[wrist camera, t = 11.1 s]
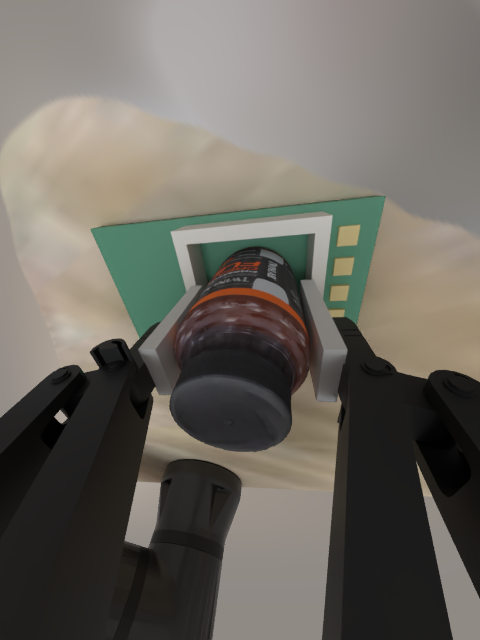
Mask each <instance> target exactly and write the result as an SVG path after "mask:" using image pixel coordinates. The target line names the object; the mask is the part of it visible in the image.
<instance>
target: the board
mask: <svg viewBox="0 0 480 640" xmlns="http://www.w3.org/2000/svg"><path fill="white" fill-rule="evenodd" d="M385 197H386V196H369V197H360V198H351V199H342V200H334V201H325V202H316V203H307V204H298V205H289V206H280V207H271V208H263V209H254V210H245V211H236V212H227V213H218V214H209V215H200V216H191V217H183V218H174V219H165V220H156V221H147V222H138V223H129V224H120V225H112V226H103V227H97V228H93V229H91V232H92V234H93V236H94V238H95V240H96V243H97V245H98V247H99V249H100V251H101V254H102V256H103V258H104V260H105V262H106V265H107V267H108V269H109V271H110V274H111V276H112V278H113V280H114V282H115V285H116V287H117V289H118V291H119V293H120V296H121V298H122V300H123V302H124V304H125V307H126V309H127V311H128V313H129V315H130V318H131V320H132V322H133V324H134V326H135V329H136V331H137V333H138V335H139V338H140V339H141V337H142V335H143V334H145V332H146V331H147V330H148V329H149V328H150V327H151V326H152V325H154V324H155V323H157V322H162V320H163V319H164V318H165V317H166V316H167V315H168V313H169V312H170V311H171V310H172V309H173V307H174V306H175V305H176V304H177V303H178V302H179V300H180V299H181V298H182V297H183V296H184V294H185V293H186V292H187V291H188V290H189V289H190V287H191V286H198V285H203V289H205V288H206V286H207V285H208V283H209V282H210V281H211V279H212V278H213V276H214V275H215V273H216V272H217V270H218V269H219V267H220V266H221V264H222V263H223V262H224V261H225V260H226V259H227V258H228V257H229V256H230V255H232V254H233V253H235V252H237V251H239V250H241V249H244V248H248V247H262V248H267V249H270V250H272V251H274V252H276V253H278V254H279V255H280V256H282V257H283V258H284V259H285V260H286V261H287V262H288V264H289V265H290V267H291V269H292V271H293V274H294V276H295V280H296V284H297V289H298V293H299V297H300V280H311V279H314V282H315V284H316V286H317V288H318V290H319V292H320V294H321V296H322V298H323V300H324V302H325V304H326V306H327V308H328V310H329V312H330V315H331V317H347V318H349V319H350V320H352V321H353V322H354V323H355V324H356V325H357V320H358V316H359V312H360V307H361V303H362V298H363V294H364V290H365V285H366V281H367V276H368V272H369V268H370V263H371V259H372V254H373V250H374V246H375V241H376V237H377V232H378V228H379V224H380V219H381V215H382V211H383V206H384V202H385Z"/></svg>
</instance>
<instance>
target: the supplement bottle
mask: <svg viewBox="0 0 480 640" xmlns="http://www.w3.org/2000/svg"><path fill="white" fill-rule="evenodd" d="M175 355H176V360H177V363H178V366H179V368H180V370H181V372H180V375H179V379H178V380H177V382H176V385H175V387H174V389H173V392H172V394H171V397H170V406H169V407H170V411H171V415H172V417H173V418H174V420H175V422H176V423H177V424H178V425H179V426H180V427H181V428H182V429H183V430H184V431H185V432H186V433H188V434H189V435H190V436H192V437H194V438H195V439H197V440H199V441H201V442H204V443H205V444H208V445H211V446H213V447H217V448H221V449H224V450H229V451H239V452H250V451H252V452H256V451H261V450H266V449H268V448H270V447H272V446H275V445H277V444H278V443H280V442H281V441H283V440H284V438H285V437H286V436H287V435H288V433H289V432H290V429H291V425H292V414H291V395H292V394H293V393H295V392H296V391H297V390H298V389H299V388H300V386H301V385H302V384H303V382H304V381H305V379H306V377H307V374H308V371H309V367H310V362H311V350H310V342H309V338H308V333H307V328H306V323H305V319H304V315H303V310H302V306H301V302H300V297H299V293H298V289H297V284H296V280H295V276H294V274H293V271H292V269H291V267H290V265H289V264H288V262H287V261H286V260H285V259H284V258H283V257H282V256H280V255H279V254H278V253H276V252H274V251H272V250H270V249H267V248H262V247H248V248H244V249H241V250H239V251H237V252H235V253H233V254H232V255H230V256H229V257H228V258H227V259H226V260H225V261H224V262H223V263H222V264H221V266H220V267H219V269H218V270H217V272H216V273H215V275H214V276H213V278H212V279H211V281H210V282H209V283H208V285H207V286H206V288H205V289H204V290H203V292H202V293H201V295H200V296H199V297H198V299H197V300H196V302H195V303H194V305H193V306H192V308H191V309H190V311H189V312H188V314H187V315H186V317H185V318H184V319H183V321H182V323H181V324H180V326H179V329H178V331H177V334H176V338H175Z"/></svg>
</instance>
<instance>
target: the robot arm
mask: <svg viewBox="0 0 480 640" xmlns="http://www.w3.org/2000/svg"><path fill="white" fill-rule="evenodd" d="M203 290H204V289H203V285H198V286H191V287H190V289H189V290H188V291H187V292H186V293H185V294H184V296H183V297H182V298H181V299H180V300H179V302H178V303H177V304H176V305H175V306H174V307H173V309H172V310H171V311H170V312H169V313H168V315H167V316H166V317H165V318H164V319H163V320H162V322H157V323H155V324H154V325H152V326H151V327H150V328H149V329H148V330H147V331H146V332H145V334H143V335H142V337H141V339H139V340H138V341H137V342H136V343H135V344H134V345H133V347H132V348H131V349H130V350H129V348H128V346H127V344H126V342H125V341H124V340H123V339H111V340H108V341H105V342H103V343H101V344H99V345H97V346H96V347H94V348H93V349H92V350H91V351H90V354H91V355H92V357H93V358H94V360H95V362H96V363H97V365H98V366H99V369H98V370H95V371H90V372H86V373H84V372H83V371H82V370H81V368H80V367H79V366H78V365H70V366H65V367H63V368H60V369H58V370H56V371H54V372H53V373H52V374H50V375H49V376H47V377H46V378H45V379H44V380H43V381H41V382H40V383H39V384H38V385H37V386H36V387H35V388H34V389H32V390H31V391H30V392H29V393H28V394H27V395H26V396H25V397H23V398H22V399H21V400H20V401H19V402H18V403H17V404H16V405H14V406H13V407H12V408H11V409H10V410H9V411H8V412H7V413H5V414H4V415H3V416H2V417H1V418H0V640H212V637H213V629H214V621H215V613H216V605H217V598H218V590H219V582H220V574H221V566H222V558H223V551H224V545H225V540H226V537H227V534H228V531H229V529H230V526H231V523H232V521H233V518H234V515H235V512H236V510H237V507H238V504H239V501H240V496H241V486H242V485H241V482H240V480H239V479H238V478H237V477H236V476H235V475H234V474H233V473H231V472H230V471H228V470H226V469H224V468H222V467H219V466H217V465H214V464H210V463H206V462H201V461H194V460H181V461H176V462H173V463H171V464H169V465H168V466H167V468H166V470H165V473H164V475H163V478H162V481H161V489H160V497H159V506H158V515H157V523H156V527H155V530H154V533H153V536H152V539H151V542H150V544H149V547H148V548H145V547H142V546H139V545H136V544H133V543H129V542H126V541H124V540H125V535H126V530H127V526H128V521H129V516H130V511H131V506H132V501H133V496H134V492H135V487H136V482H137V478H138V473H139V468H140V463H141V458H142V454H143V449H144V444H145V439H146V435H147V430H148V425H149V420H150V415H151V411H152V406H153V396H152V394H151V392H152V391H153V389H154V387H156V389H157V391H158V393H159V395H171V394H172V392H173V389H174V387H175V385H176V382H177V380H178V379H179V375H180V372H181V370H180V368H179V366H178V363H177V360H176V355H175V338H176V334H177V331H178V329H179V326H180V324H181V323H182V321H183V319H184V318H185V317H186V315H187V314H188V312H189V311H190V309H191V308H192V306H193V305H194V303H195V302H196V300H197V299H198V297H199V296H200V295H201V293H202V292H203ZM300 302H301V306H302V310H303V315H304V319H305V323H306V328H307V333H308V338H309V342H310V350H311V362H310V367H309V368H310V373H311V377H312V382H313V386H314V391H315V396H316V400H317V401H324V402H336V401H337V397H338V394H339V397H340V400H341V402H342V404H341V409H340V413H339V417H338V421H337V422H338V423H339V431H338V443H337V456H336V469H335V482H334V495H333V507H332V520H331V533H330V546H329V558H328V571H327V572H328V573H327V584H326V596H325V610H324V622H323V635H322V640H453V637H452V633H451V629H450V623H449V618H448V613H447V608H446V604H445V599H444V594H443V589H442V584H441V580H440V575H439V570H438V565H437V560H436V555H435V551H434V546H433V541H432V536H431V532H430V526H429V522H428V517H427V512H426V507H425V503H424V497H423V493H422V488H421V483H420V478H419V473H418V469H417V464H418V466H419V468H420V470H421V472H422V475H423V477H424V479H425V481H426V483H427V485H428V488H429V490H430V492H431V494H432V496H433V498H434V500H435V503H436V505H437V507H438V509H439V511H440V514H441V516H442V518H443V520H444V522H445V524H446V527H447V529H448V531H449V533H450V535H451V537H452V540H453V542H454V544H455V545H456V548H457V550H458V552H459V555H460V557H461V559H462V561H463V563H464V565H465V567H466V570H467V572H468V574H469V576H470V578H471V580H472V583H473V585H474V587H475V589H476V591H477V594H478V596H479V598H480V382H478V381H476V380H475V379H473V378H471V377H469V376H467V375H464V374H461V373H458V372H455V371H448V370H436V371H434V372H432V373H430V375H429V377H428V379H424V378H420V377H415V376H411V375H406V374H403V373H399V372H397V371H396V369H395V367H394V366H393V365H392V364H391V363H389V362H388V361H386V360H384V359H382V358H380V357H377V356H376V355H375V354H374V352H373V351H372V349H371V348H370V346H369V344H368V343H367V341H366V340H365V338H364V337H363V336H362V333H361V332H360V331H359V329H358V327H357V326H356V324H355V323H354V322H353V321H352V320H350V319H349V318H347V317H331V315H330V312H329V310H328V308H327V306H326V304H325V302H324V300H323V298H322V296H321V294H320V292H319V290H318V288H317V286H316V284H315V282H314V279H311V280H300ZM59 410H61V411H62V412H63V413H64V414H65V416H66V417H67V418H68V419H67V420H66V421H65V422H63V423H62V424H61V423H59V422H58V421H57V420H56V419H55V417H54V416H55V415H56V414H57V413H58V412H59ZM416 462H417V464H416Z"/></svg>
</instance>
